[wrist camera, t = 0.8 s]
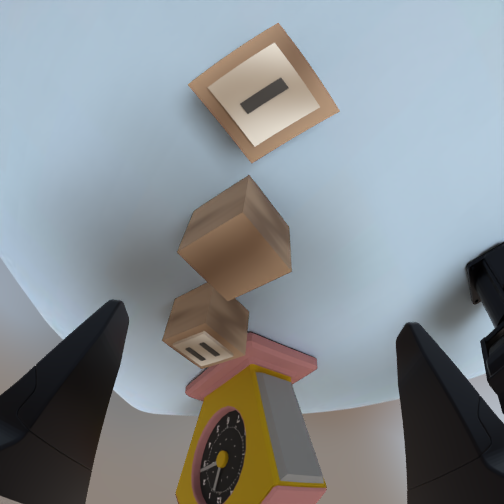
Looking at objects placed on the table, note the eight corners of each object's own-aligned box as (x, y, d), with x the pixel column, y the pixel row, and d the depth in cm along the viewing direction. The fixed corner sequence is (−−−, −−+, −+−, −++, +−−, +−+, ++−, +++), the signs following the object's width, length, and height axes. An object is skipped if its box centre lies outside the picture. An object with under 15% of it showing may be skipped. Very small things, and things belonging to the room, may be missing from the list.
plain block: (289, 226, 23) (291, 271, 19) (235, 255, 25) (227, 301, 21) (249, 174, 20) (242, 212, 16) (194, 210, 22) (176, 252, 18)
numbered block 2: (323, 95, 17) (341, 112, 12) (256, 135, 19) (251, 166, 14) (276, 29, 14) (278, 22, 10) (208, 74, 16) (185, 85, 12)
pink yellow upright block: (263, 314, 29) (248, 554, 12) (335, 345, 32) (348, 545, 15) (179, 390, 41) (153, 527, 24) (234, 408, 44) (221, 537, 27)
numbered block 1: (249, 311, 29) (244, 359, 25) (209, 327, 31) (200, 372, 27) (214, 277, 26) (204, 327, 22) (175, 298, 28) (160, 344, 24)
